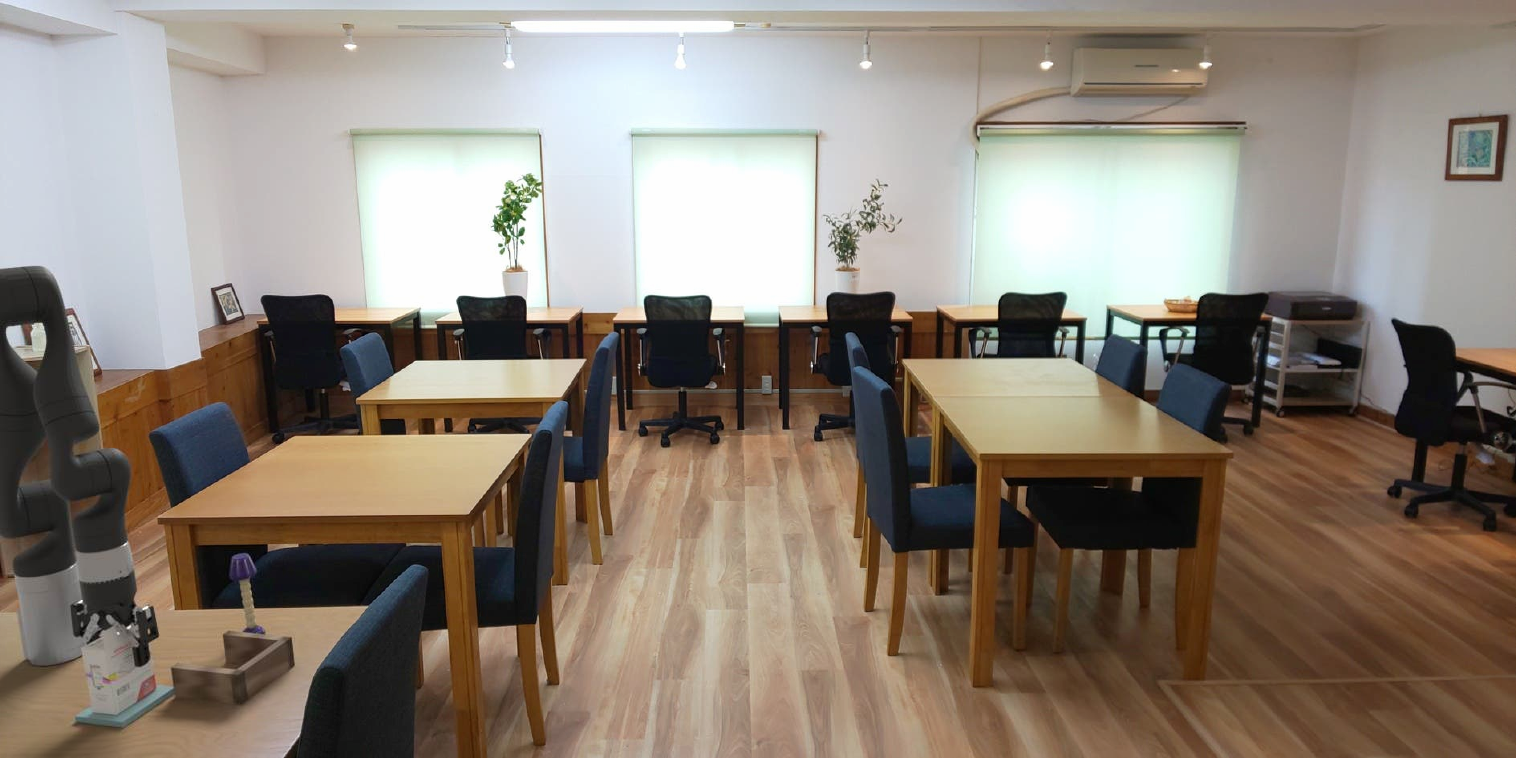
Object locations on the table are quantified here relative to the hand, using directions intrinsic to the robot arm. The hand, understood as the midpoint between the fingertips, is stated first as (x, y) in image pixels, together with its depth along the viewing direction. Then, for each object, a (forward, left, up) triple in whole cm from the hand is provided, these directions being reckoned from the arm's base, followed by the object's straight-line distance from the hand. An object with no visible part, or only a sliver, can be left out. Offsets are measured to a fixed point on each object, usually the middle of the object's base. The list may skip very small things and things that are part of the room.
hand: (120, 662), depth 160 cm
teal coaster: (0, 0, -8) cm, 8 cm away
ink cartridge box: (0, 0, -7) cm, 7 cm away
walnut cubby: (+12, +11, -8) cm, 18 cm away
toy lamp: (+3, +26, -8) cm, 27 cm away
